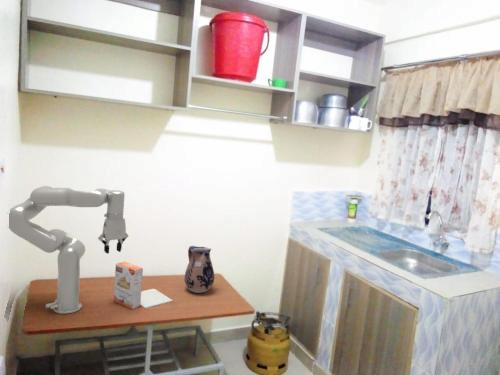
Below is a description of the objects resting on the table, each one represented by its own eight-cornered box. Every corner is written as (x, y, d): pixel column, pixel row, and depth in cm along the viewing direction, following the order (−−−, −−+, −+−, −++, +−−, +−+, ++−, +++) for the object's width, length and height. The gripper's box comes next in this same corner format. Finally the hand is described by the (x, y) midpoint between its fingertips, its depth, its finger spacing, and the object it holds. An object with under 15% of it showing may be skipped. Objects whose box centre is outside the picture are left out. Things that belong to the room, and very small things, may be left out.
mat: (145, 308, 187) (145, 307, 187) (127, 295, 201) (127, 294, 200) (172, 301, 199) (172, 300, 199) (154, 289, 212) (154, 288, 212)
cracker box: (112, 302, 191) (115, 263, 189) (122, 298, 196) (124, 260, 194) (131, 310, 184) (134, 270, 182) (140, 306, 190) (143, 267, 187)
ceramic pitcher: (198, 299, 206) (202, 255, 203) (173, 287, 218) (176, 246, 215) (219, 291, 220) (223, 250, 217) (194, 280, 232) (197, 242, 229)
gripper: (100, 218, 170) (98, 256, 172) (135, 216, 182) (132, 251, 184) (94, 215, 175) (92, 252, 177) (127, 213, 187) (125, 247, 189)
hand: (112, 251), depth 180 cm, fingers open, 5 cm apart
